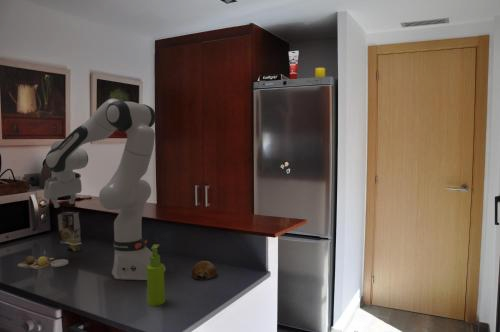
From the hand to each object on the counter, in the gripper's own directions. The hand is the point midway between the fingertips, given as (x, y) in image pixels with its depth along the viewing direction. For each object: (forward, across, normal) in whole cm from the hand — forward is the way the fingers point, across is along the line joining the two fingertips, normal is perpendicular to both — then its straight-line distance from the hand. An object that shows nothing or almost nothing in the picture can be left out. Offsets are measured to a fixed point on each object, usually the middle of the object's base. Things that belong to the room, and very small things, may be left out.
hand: (64, 205), depth 184 cm
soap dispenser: (+27, -31, -65) cm, 77 cm away
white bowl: (+25, -8, -2) cm, 27 cm away
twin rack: (+25, -12, +7) cm, 29 cm away
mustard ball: (+25, -12, +4) cm, 28 cm away
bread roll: (+27, -4, -71) cm, 76 cm away
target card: (+25, -3, +8) cm, 27 cm away
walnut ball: (+25, -12, +10) cm, 29 cm away
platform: (+26, +11, +6) cm, 29 cm away
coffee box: (+25, +23, +19) cm, 39 cm away
